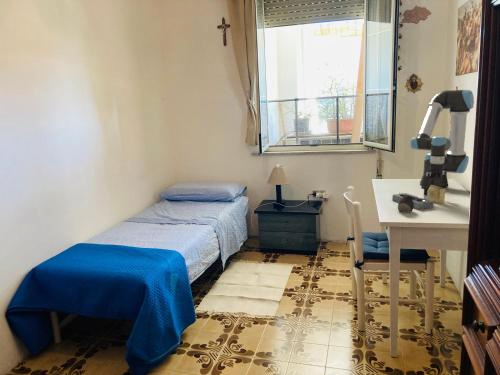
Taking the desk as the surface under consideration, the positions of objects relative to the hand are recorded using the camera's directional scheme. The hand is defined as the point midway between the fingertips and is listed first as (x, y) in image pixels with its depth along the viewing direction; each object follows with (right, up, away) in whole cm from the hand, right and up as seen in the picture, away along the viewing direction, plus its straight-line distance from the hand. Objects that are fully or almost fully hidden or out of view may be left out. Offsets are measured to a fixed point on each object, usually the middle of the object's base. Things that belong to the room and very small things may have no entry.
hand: (433, 199), depth 229 cm
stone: (-25, -6, -19) cm, 32 cm away
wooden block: (0, -1, 0) cm, 1 cm away
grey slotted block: (-15, -2, -5) cm, 16 cm away
